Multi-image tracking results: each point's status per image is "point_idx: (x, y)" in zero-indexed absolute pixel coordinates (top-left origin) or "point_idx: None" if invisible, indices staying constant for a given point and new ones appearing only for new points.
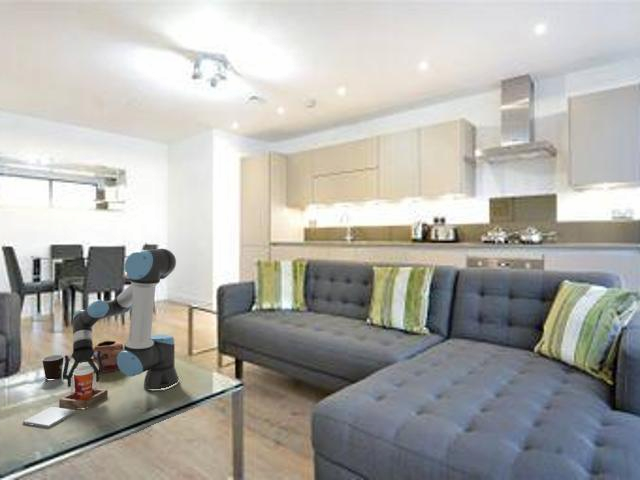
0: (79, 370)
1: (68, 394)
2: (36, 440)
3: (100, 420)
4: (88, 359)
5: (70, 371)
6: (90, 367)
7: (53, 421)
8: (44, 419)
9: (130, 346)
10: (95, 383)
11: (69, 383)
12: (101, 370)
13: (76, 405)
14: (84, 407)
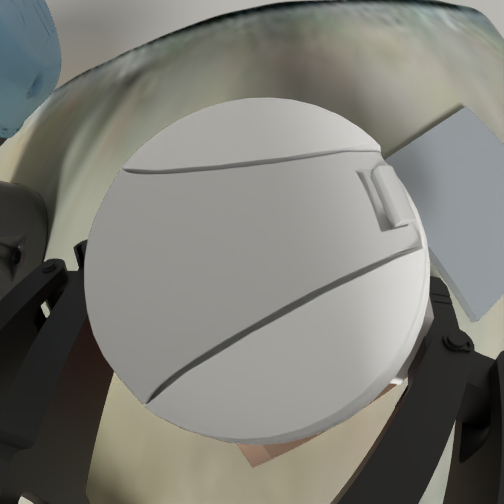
0: (323, 183)
1: (386, 390)
2: (476, 69)
3: (282, 64)
4: (8, 468)
5: (448, 411)
6: (110, 239)
7: (457, 124)
8: (495, 170)
9: None
10: None
11: (430, 290)
12: (62, 262)
13: None
14: None
